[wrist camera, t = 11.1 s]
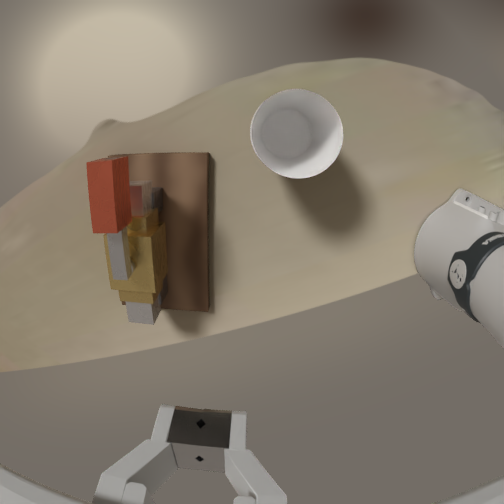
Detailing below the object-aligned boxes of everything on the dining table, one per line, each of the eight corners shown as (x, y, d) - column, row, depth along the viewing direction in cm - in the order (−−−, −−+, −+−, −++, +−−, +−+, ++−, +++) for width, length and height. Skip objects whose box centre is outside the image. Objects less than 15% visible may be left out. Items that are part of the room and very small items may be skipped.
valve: (169, 176, 40) (148, 187, 32) (174, 298, 46) (160, 330, 39) (127, 176, 40) (99, 188, 32) (137, 295, 47) (117, 325, 39)
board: (209, 152, 40) (207, 153, 39) (209, 306, 49) (208, 311, 47) (112, 155, 40) (107, 156, 39) (125, 299, 49) (122, 304, 47)
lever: (140, 273, 35) (125, 292, 31) (118, 272, 35) (102, 290, 31) (130, 155, 30) (111, 160, 26) (107, 157, 30) (86, 162, 26)
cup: (260, 173, 41) (261, 188, 30) (245, 107, 38) (239, 97, 27) (326, 160, 40) (352, 171, 29) (313, 94, 37) (334, 80, 26)
